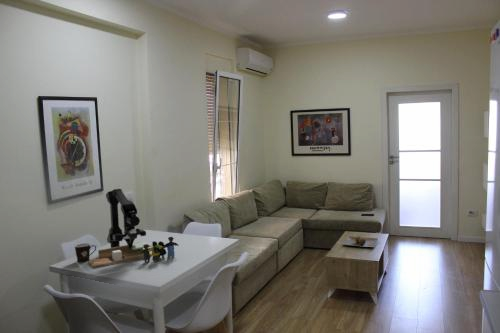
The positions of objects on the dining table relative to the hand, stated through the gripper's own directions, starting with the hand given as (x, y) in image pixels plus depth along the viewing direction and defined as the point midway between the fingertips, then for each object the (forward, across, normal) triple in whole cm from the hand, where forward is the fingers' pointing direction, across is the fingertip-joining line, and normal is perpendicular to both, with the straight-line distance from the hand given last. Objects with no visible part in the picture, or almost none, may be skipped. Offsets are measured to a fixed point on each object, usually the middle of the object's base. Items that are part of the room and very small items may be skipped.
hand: (130, 248), depth 251 cm
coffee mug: (+7, -22, +16) cm, 28 cm away
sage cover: (0, +7, +3) cm, 8 cm away
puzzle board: (+7, -5, +3) cm, 9 cm away
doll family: (+7, +14, -12) cm, 20 cm away
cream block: (+6, -7, +3) cm, 10 cm away
